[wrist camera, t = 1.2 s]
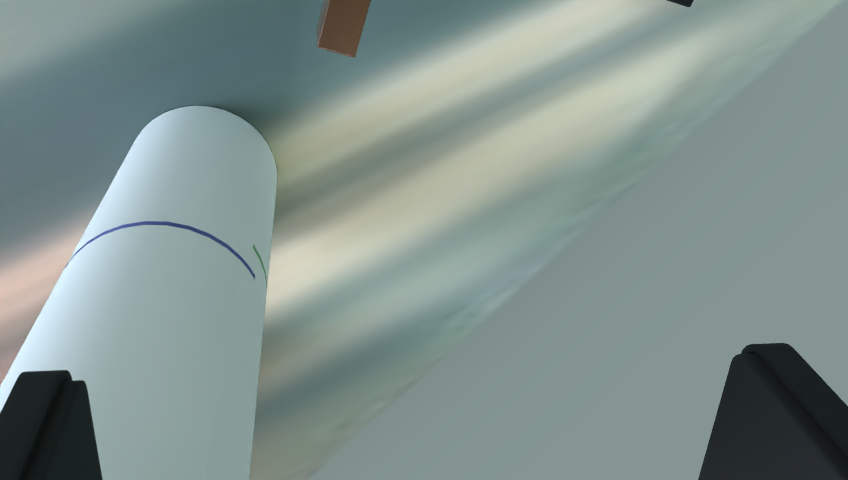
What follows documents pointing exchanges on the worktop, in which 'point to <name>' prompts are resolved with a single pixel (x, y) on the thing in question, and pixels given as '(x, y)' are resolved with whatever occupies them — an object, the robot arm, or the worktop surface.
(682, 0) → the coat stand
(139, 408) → the cylindrical container
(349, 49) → the brown clothes hanger
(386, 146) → the worktop surface
